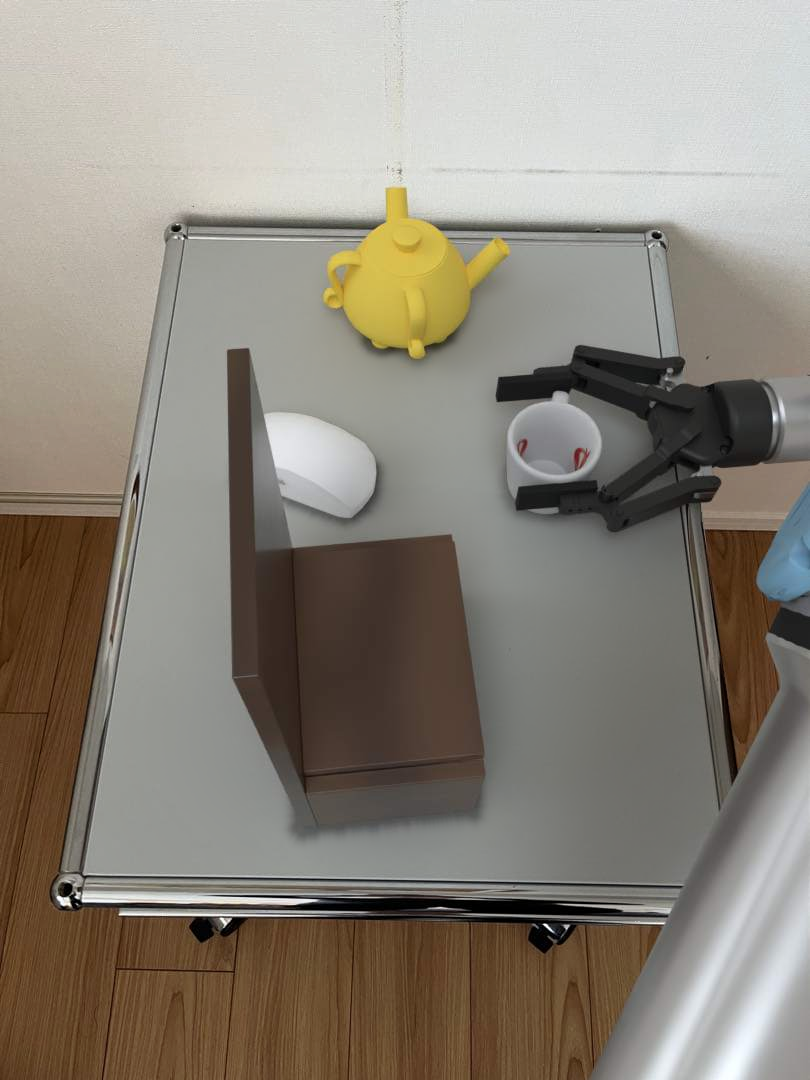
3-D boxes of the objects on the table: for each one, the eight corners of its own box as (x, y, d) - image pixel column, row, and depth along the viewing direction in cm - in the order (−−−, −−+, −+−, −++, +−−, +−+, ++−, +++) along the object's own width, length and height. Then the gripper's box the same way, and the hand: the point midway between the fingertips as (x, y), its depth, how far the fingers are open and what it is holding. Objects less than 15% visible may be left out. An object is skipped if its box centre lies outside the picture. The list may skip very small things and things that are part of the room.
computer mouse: (260, 425, 88) (251, 384, 83) (387, 471, 86) (386, 432, 80) (228, 479, 85) (217, 440, 80) (359, 527, 83) (356, 491, 78)
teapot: (506, 305, 95) (518, 221, 85) (426, 391, 90) (429, 312, 80) (394, 242, 99) (393, 155, 89) (311, 321, 94) (301, 237, 84)
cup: (510, 420, 89) (520, 366, 82) (594, 434, 88) (611, 382, 81) (492, 517, 84) (500, 469, 77) (580, 533, 83) (597, 486, 76)
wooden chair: (445, 593, 80) (473, 330, 50) (474, 810, 72) (529, 651, 42) (291, 606, 80) (226, 348, 50) (302, 828, 71) (231, 678, 41)
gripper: (780, 559, 80) (523, 582, 78) (711, 346, 90) (484, 363, 89) (815, 515, 73) (534, 540, 72) (736, 291, 84) (491, 309, 82)
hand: (506, 442), depth 80 cm, fingers closed on cup, 10 cm apart
